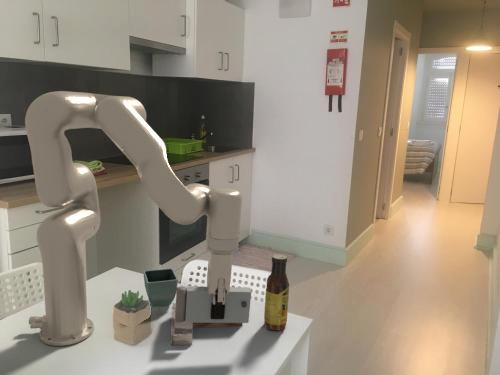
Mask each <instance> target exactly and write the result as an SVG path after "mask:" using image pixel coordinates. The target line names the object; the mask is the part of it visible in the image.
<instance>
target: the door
mask: <svg viewBox="0 0 500 375" xmlns="http://www.w3.org/2000/svg"><path fill="white" fill-rule="evenodd" d="M216 291H218V290H216ZM223 291H224V290H223ZM216 296H218V295H216ZM251 298H252V291H251V287H247V286H246V287H244V286H243V287H242V286H241V287H239V286H230V290H229V293H228V294H227V295H226V294H225V314H224V319H211V303H212V302H213V294H211V295H210V294H208V291H207V286H194V285H192V286H183V285H182V286H181V285H179V286H177V291H176V295H175V303H176V312H175V321H176V322H184V321H185V322H188V323H243V324H248V323H249V322H250V321H249V320H250V309H251V301H252V300H251Z"/></svg>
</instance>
